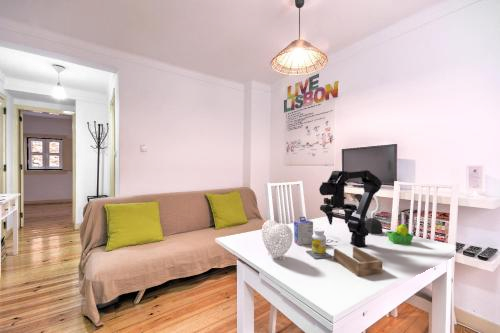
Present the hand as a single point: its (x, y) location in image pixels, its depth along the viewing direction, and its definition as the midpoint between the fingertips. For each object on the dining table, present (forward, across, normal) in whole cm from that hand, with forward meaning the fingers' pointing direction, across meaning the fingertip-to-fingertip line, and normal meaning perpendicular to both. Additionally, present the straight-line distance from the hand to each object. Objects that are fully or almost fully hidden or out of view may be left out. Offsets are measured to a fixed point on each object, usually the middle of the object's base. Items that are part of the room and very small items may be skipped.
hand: (338, 223), depth 118 cm
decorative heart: (+13, +36, +4) cm, 39 cm away
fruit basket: (+13, -40, 0) cm, 42 cm away
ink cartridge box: (+13, +14, -12) cm, 23 cm away
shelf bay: (+13, +5, +20) cm, 24 cm away
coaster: (+13, +14, +5) cm, 20 cm away
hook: (+13, -39, -19) cm, 45 cm away
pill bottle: (+13, +14, +5) cm, 20 cm away
